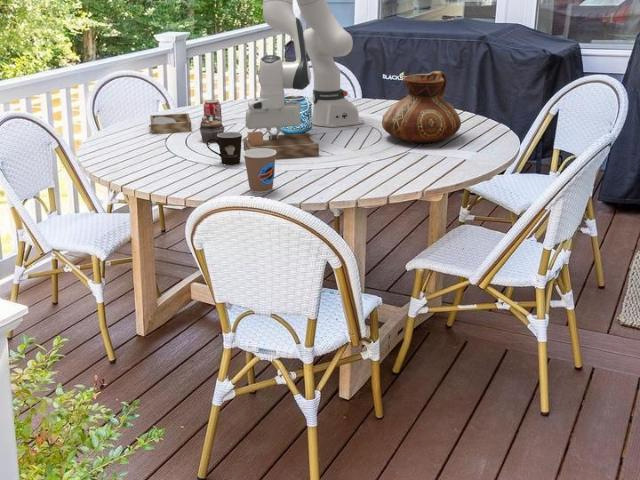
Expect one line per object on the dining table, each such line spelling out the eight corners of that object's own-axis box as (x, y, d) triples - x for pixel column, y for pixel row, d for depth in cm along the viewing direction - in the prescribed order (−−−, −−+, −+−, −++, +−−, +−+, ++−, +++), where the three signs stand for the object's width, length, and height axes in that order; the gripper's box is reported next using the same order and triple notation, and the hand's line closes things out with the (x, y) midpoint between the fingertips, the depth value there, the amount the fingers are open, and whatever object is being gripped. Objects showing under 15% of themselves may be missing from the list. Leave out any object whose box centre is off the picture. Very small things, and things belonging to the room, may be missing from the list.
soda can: (223, 128, 330) (222, 99, 326) (220, 132, 323) (218, 102, 319) (207, 127, 331) (205, 99, 326) (203, 131, 324) (201, 102, 320)
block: (261, 141, 294) (260, 131, 293) (263, 145, 290) (263, 134, 288) (247, 142, 293) (247, 132, 292) (249, 146, 289) (249, 135, 287)
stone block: (175, 129, 338) (151, 125, 336) (176, 118, 337) (152, 114, 334) (177, 136, 328) (152, 133, 325) (178, 125, 326) (154, 121, 323)
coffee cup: (261, 196, 242) (259, 158, 238) (238, 190, 248) (235, 153, 244) (284, 188, 249) (283, 151, 245) (261, 182, 256) (260, 146, 251)
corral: (189, 122, 341) (188, 113, 339) (191, 131, 324) (191, 122, 323) (151, 124, 338) (150, 115, 336) (151, 134, 321) (150, 124, 320)
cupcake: (195, 142, 308) (193, 116, 305) (209, 136, 316) (208, 111, 313) (215, 144, 304) (214, 118, 300) (229, 139, 312) (228, 113, 308)
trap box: (309, 144, 301) (309, 133, 300) (318, 155, 286) (318, 143, 284) (243, 149, 296) (243, 137, 295) (249, 160, 281) (249, 148, 279)
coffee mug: (247, 160, 281) (245, 132, 278) (237, 166, 274) (235, 138, 270) (217, 158, 285) (215, 130, 281) (206, 164, 277) (204, 136, 274)
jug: (450, 151, 289) (453, 82, 280) (371, 145, 299) (372, 78, 290) (466, 133, 315) (469, 69, 306) (392, 128, 325) (393, 66, 316)
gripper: (299, 98, 292) (300, 135, 297) (243, 101, 288) (245, 139, 293) (302, 101, 287) (303, 139, 292) (246, 105, 283) (248, 143, 288)
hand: (274, 139), depth 293 cm, fingers closed
